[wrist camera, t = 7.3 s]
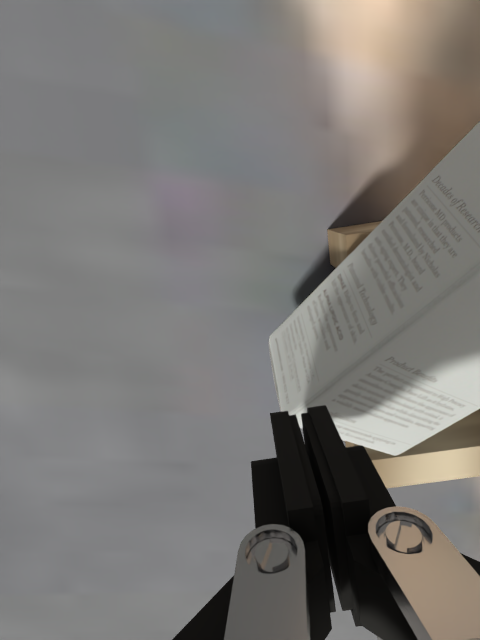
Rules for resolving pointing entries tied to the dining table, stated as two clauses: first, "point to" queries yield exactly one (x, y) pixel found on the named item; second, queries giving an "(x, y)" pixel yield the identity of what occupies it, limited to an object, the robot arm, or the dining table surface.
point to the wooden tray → (438, 450)
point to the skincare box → (395, 319)
